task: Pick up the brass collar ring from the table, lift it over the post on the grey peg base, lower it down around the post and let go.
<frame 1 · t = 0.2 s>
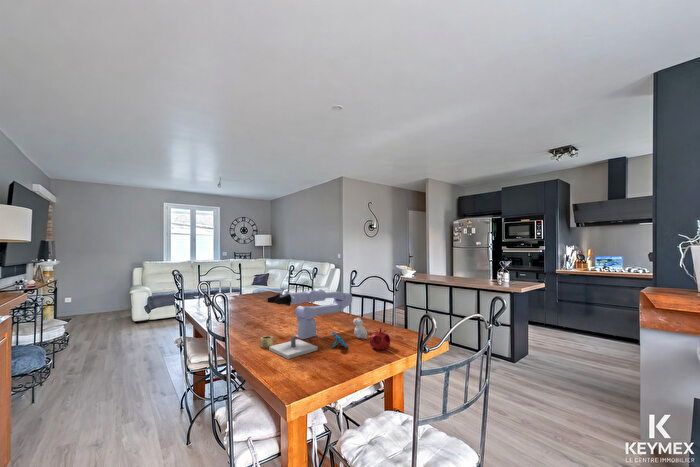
hand: (271, 300, 153), 21 cm above the table, tool horizontal, fingers open, 7 cm apart
blue branched piece: (339, 347, 148), on the table
pomegranate: (379, 348, 147), on the table
bust: (360, 337, 164), on the table
grey peg base: (293, 350, 145), on the table
ring: (266, 345, 151), on the table
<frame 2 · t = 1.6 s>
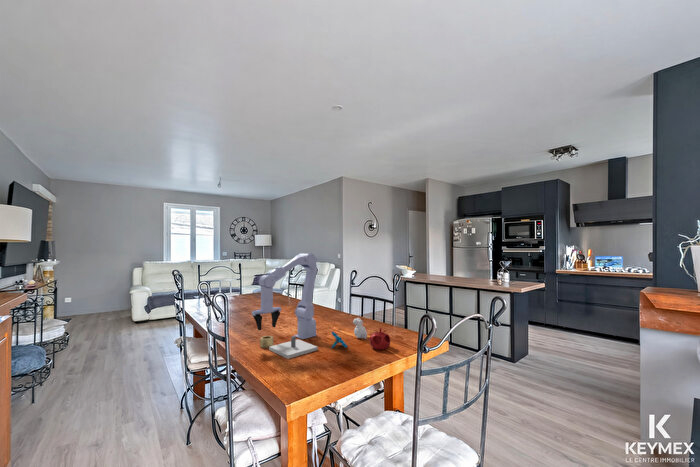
hand: (266, 328, 151), 8 cm above the table, tool pointing down, fingers open, 7 cm apart
nothing on the table moved.
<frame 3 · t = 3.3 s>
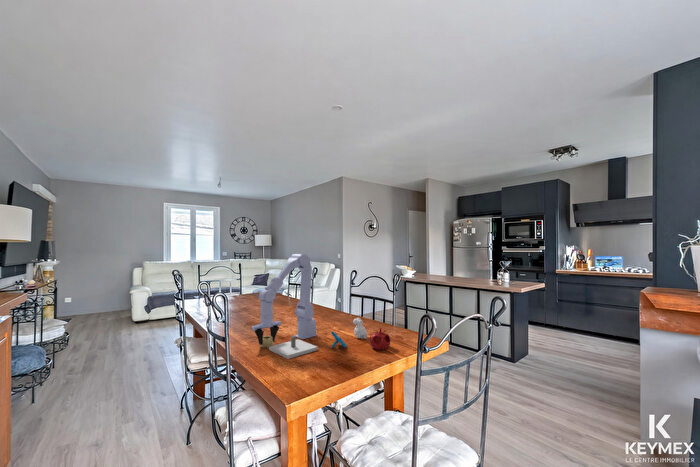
hand: (266, 342, 151), 1 cm above the table, tool pointing down, fingers closed on ring, 6 cm apart
ring: (266, 345, 151), on the table, touching gripper
everything else where it was.
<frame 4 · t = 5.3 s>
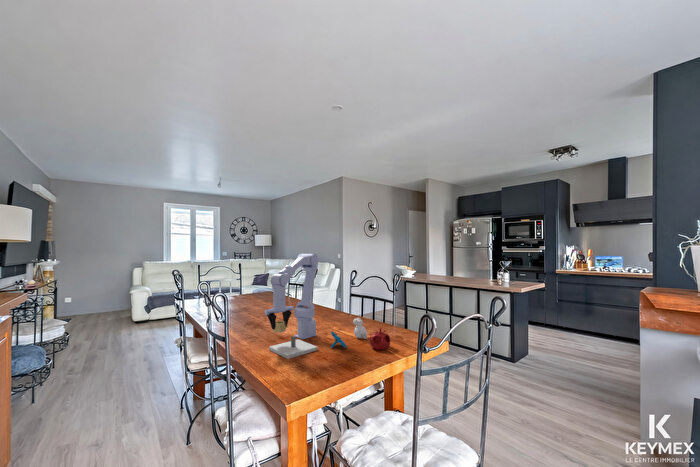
hand: (279, 327, 148), 9 cm above the table, tool pointing down, fingers closed on ring, 6 cm apart
ring: (279, 330, 148), point 8 cm above the table, touching gripper
everything else where it was.
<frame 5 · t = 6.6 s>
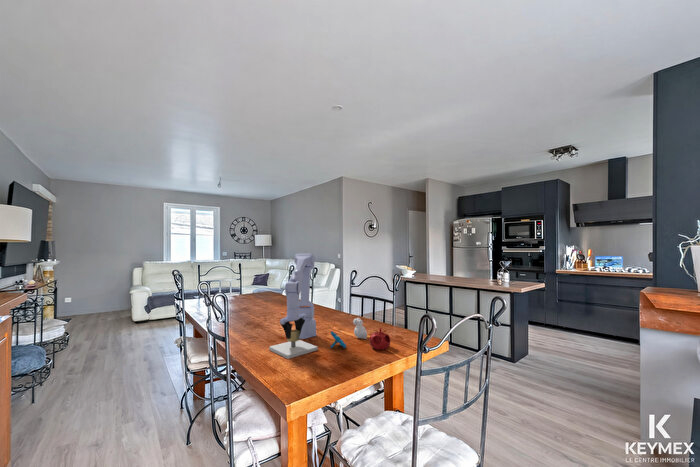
hand: (293, 336, 145), 6 cm above the table, tool pointing down, fingers closed on ring, 6 cm apart
ring: (293, 339, 145), point 5 cm above the table, touching gripper
everything else where it was.
when the fingers open (4 cm above the table, at t = 7.7 s): ring stays where it is, resting on grey peg base.
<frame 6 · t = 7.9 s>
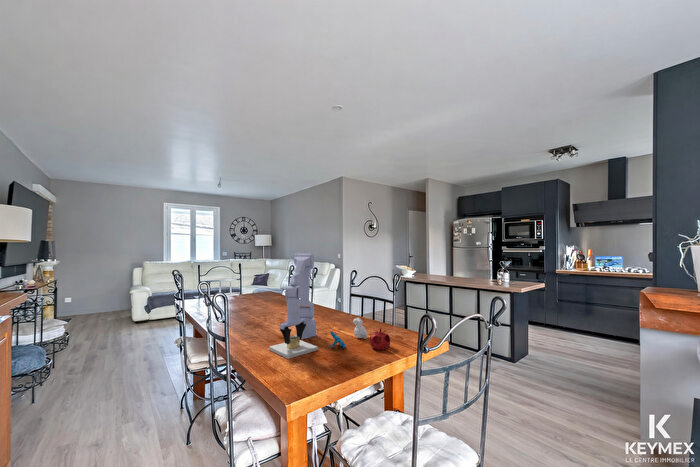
hand: (293, 341, 145), 4 cm above the table, tool pointing down, fingers open, 7 cm apart
ring: (293, 346, 145), point 1 cm above the table, touching grey peg base
everything else where it was.
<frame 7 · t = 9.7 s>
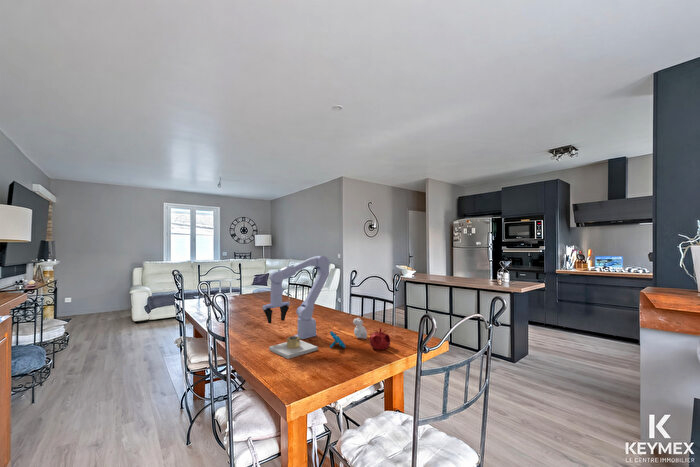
hand: (276, 321, 160), 9 cm above the table, tool pointing down, fingers open, 7 cm apart
nothing on the table moved.
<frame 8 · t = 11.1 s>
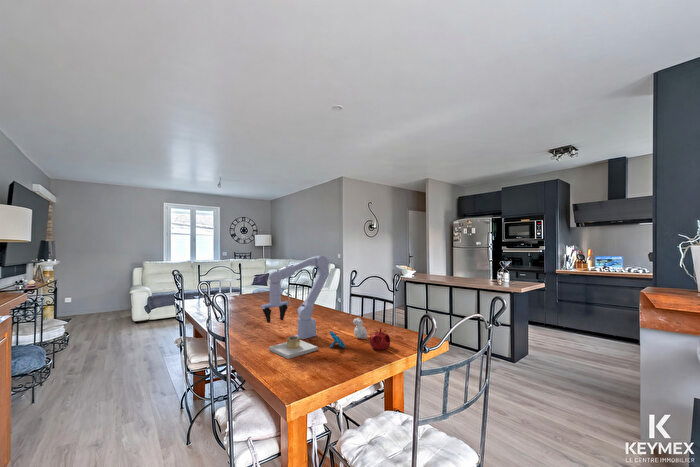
hand: (275, 321, 161), 9 cm above the table, tool pointing down, fingers open, 7 cm apart
at the end: ring 0.0 cm from the grey peg base (horizontally); ring point 1.5 cm above the table; the gripper is holding nothing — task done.
